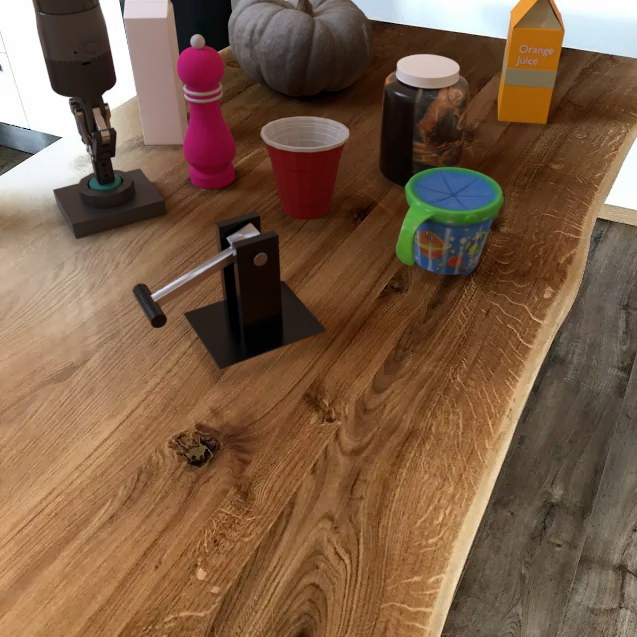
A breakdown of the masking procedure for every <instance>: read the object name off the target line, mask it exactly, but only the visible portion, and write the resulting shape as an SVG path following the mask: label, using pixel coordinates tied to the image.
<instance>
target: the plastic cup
mask: <svg viewBox="0 0 637 637" xmlns="http://www.w3.org/2000/svg"><path fill="white" fill-rule="evenodd" d="M260 137H261V139H262V140H263V141H264V144H265V145H266V150H267V152H268V157H269V159H270V164H271V168H272V172H273V176H274V181H275V185H276V190H277V195H278V197H279V201H280V204H281V209H282V211H283V212H284V214H285V215H286V216H288V217H291V218H292V219H297V220H306V221H311V220H315V219H320V218H322V217H324V216H325V215H327V213H328V212H330V210H331V205H332V204H331V203H332V198H333V197H334V191H335V186H336V182H337V176H338V170H339V166H340V160H341V159H342V154H343V151H344V149H345V148H344V147H345V145H346V142H347V141H348V140H349V138H350V129H349V128H348V127H347V126H346V125H344V124H343V123H341V122H339V121H336V120H333V119H330V118H324V117H320V116H301V115H300V116H292V117H291V116H290V117H283V118H279V119H275V120H273V121H270V122H268V123H267V124H265V125H264V126H262V128H261V131H260Z"/></svg>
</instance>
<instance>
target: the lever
mask: <svg viewBox="0 0 637 637" xmlns="http://www.w3.org/2000/svg"><path fill="white" fill-rule="evenodd" d="M259 234H260V233H259V231H258V230H257V229H256V228H255V227H254V226H253V225H252V224H251V223H250V224H248V225H246V226H245V227H243V228H241V229H240V230H238V231H237V232H235V233H233V234H232V235H230V236H228V237H227V240H228V242H229V244H230V247H229V248H227V249H225V250H224V251H222V252H220V253H219V254H218V253H217V254H216V255H214V256H212V257H211V258H209V259H208V260H206V261H204V262H202V263H201V264H200V265H198V266H196V267H195V268H193V269H191V270H190V271H188V272H187V273H185V274H183V275H182V276H180V277H178V278H176V279H175V280H174V281H172V282H171V283H169V284H167V285H165V286H164V287H162V288H161V289H159V290H157V291H155V292H154V293H152V291H151V289H150V288H149V287H148V285H147V284H146V283H143V282H141V283H138V284H135V285H134V286H133V288H132V291H131V293H132V295H133V296H134V298H135V300H136V301H137V304H138V305H139V307H140V308H141V310H142V312H143V313H144V315H145V317H146V318H147V320H148V322H149V324H150V325H151V327H152V328H153V329H161V328H163V327H164V326H166V324H167V322H168V317H167V315H166V314H165V312H164V311H163V309H162V307H164V306H165V305H167V304H169V303H170V302H171V301H173V300H175V299H177V298H178V297H180V296H182V294H184V293H186V292H188V291H189V290H191V289H192V288H194V287H195V286H197V285H199V284H201V283H202V282H203V281H205V280H207V279H209V278H210V277H212V276H213V275H214V274H216V273H218V272H220V270H221V269H223V268H224V267H226V266H228V265H229V264H231V263H232V262H234V261H233V251H232V242H236V241H239V240H243V239H246V238H249V237H253V236H256V235H259Z"/></svg>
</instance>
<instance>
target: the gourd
mask: <svg viewBox="0 0 637 637" xmlns="http://www.w3.org/2000/svg"><path fill="white" fill-rule="evenodd" d="M227 29H228V42H229V46H230V50H231V53H232V56H233V58H234V60H235V61H236V62H237V64H238V65H239V66H240V67H241V68H242V70H243V71H244V72H245V73H246V74H247V75H248V77H250V78H252V80H254V81H256V83H257V84H260V85H261V86H263V87H265V88H268V89H272V90H274V91H275V92H277V93H281V94H284V95H286V96H288V97H300V96H305V97H312V96H315V95H317V94H318V93H320V92H321V91H324V92H338V91H341V90H343V89H346V88H348V87H350V86H351V85H353V84H354V83H355V82H357V80H359V79H360V78H361V77H362V75H363V74H365V72H366V70H367V69H368V67H369V64H370V61H371V58H372V57H371V56H372V51H373V45H374V36H375V35H374V30H373V27H372V23H371V21H370V19H369V17H367V15H366V14H365V13H364V11H363V10H362V9H361V8H359V6H358V5H357V4H356V3H355V2H354V1H353V0H239V1H238V3H237V4H236V6H235V8H234V9H233V11H232V12H231V14H230V16H229V20H228V24H227Z"/></svg>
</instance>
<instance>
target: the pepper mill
mask: <svg viewBox="0 0 637 637" xmlns="http://www.w3.org/2000/svg"><path fill="white" fill-rule="evenodd" d="M177 73H178V76H179V78H180V79H181V81H182V82H183V90H184V98H185V100H187V102H188V106H189V121H188V129H187V132H186V135H185V138H184V144H183V145H182V150H183V151H182V152H183V154H182V155H183V158H184V159H185V161H186V162H187V164H189V168H188V170H189V178H190V182H191V183H192V184H193V186H195V187H197V188H200V189H204V190H217V189H221V188H225V187H227V186H229V185H231V184H232V183H233V182H234V181H235V179H236V174H235V165H234V163H233V160H234V159H235V157H236V155H237V146H236V142H235V138H234V136H233V134H232V132H231V130H230V128H229V126H228V125H227V122H226V121H225V119H224V116H223V113H222V107H221V98H223V94H224V92H223V90H222V89H223V84H222V83H221V81H222V79H223V78H224V75H225V63H224V59H223V58H222V56H221V54H220V53H219V52H218V51H217V50H216V49H214V48H213V47H210V46H208V45H206V41H205V38H204V37H203V35H201V34H198V33H197V34H193V36H191V38H190V47H187V48H186V49H184V50H183V51H181V53H179V58H178V61H177Z"/></svg>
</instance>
